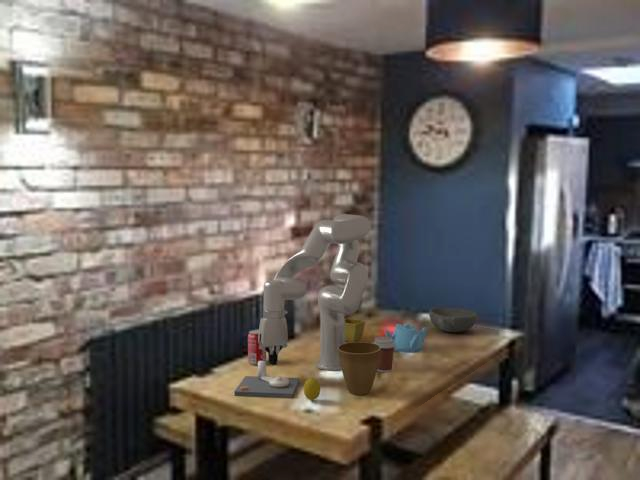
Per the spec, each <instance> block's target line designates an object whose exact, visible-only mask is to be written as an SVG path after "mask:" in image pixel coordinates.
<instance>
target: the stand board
mask: <svg viewBox="0 0 640 480" xmlns="http://www.w3.org/2000/svg"><path fill="white" fill-rule="evenodd" d="M272 377H273V378H275V377H276V376H272ZM286 378H287V379H289V385H288V386H286V387H272V386H270V385H269V382H267V381H265V380H262V379H258V375H257V376H255V375H244V377H243V379H242V380H241V382H240V383H239V384H238V385H237V387H236V389H235V390H234V396H237V397H259V398H260V397H261V398H262V397H263V398H281V399H283V398H284V399H293V397H294V395H295V393H296V391H297V388H298V386H299V384H300V377H286Z"/></svg>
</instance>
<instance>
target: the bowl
mask: <svg viewBox="0 0 640 480" xmlns="http://www.w3.org/2000/svg"><path fill="white" fill-rule="evenodd" d="M428 311H429V312H428V316H429V319H430V322H431V323H432V325H433V326H434V327H435V328H436V329H438V330H440V331H442V332H446V333H447V332H448V333H460V332H462V333H463V332H465V331H468V330H470V329H471V328H473V326H475V324H476V323H477V321H478V313H477V312H476V311H475V310H471V309H467V308H461V307H449V306H439V307H438V306H437V307H432V308H431V309H429V310H428Z"/></svg>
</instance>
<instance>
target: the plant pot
mask: <svg viewBox="0 0 640 480" xmlns="http://www.w3.org/2000/svg"><path fill="white" fill-rule="evenodd" d="M380 350H381V347H380V346H379V345H377V344H374V343H373V342H367V341H356V342H345V343H344V344H341V345H339V346H338V354H339V360H340V365H341V369H342V370H341V372H342V373H341V374H342V376H343V378H344V379H343V380H344V382H345V385H346V388H347V390H348V393H349V394H350V395H354V396H366V395H368V394H370V392H371V391H372V388H373V385H374V383H375V379H376V375H377V372H378V371H377V368H378V363H379V358H380Z"/></svg>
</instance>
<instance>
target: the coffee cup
mask: <svg viewBox="0 0 640 480" xmlns="http://www.w3.org/2000/svg"><path fill="white" fill-rule="evenodd" d="M372 343H374V344H377V345H379V346H380V347H381V350H380V358H379V363H378V368H377V372H379V373H388V372H392V371H393V363H394V361H393V360H394V352H395V350H394V347H395V346H396V343H395V342H393V339H392V338H389V337H387V336H380V337H375V338H374V341H372Z"/></svg>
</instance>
